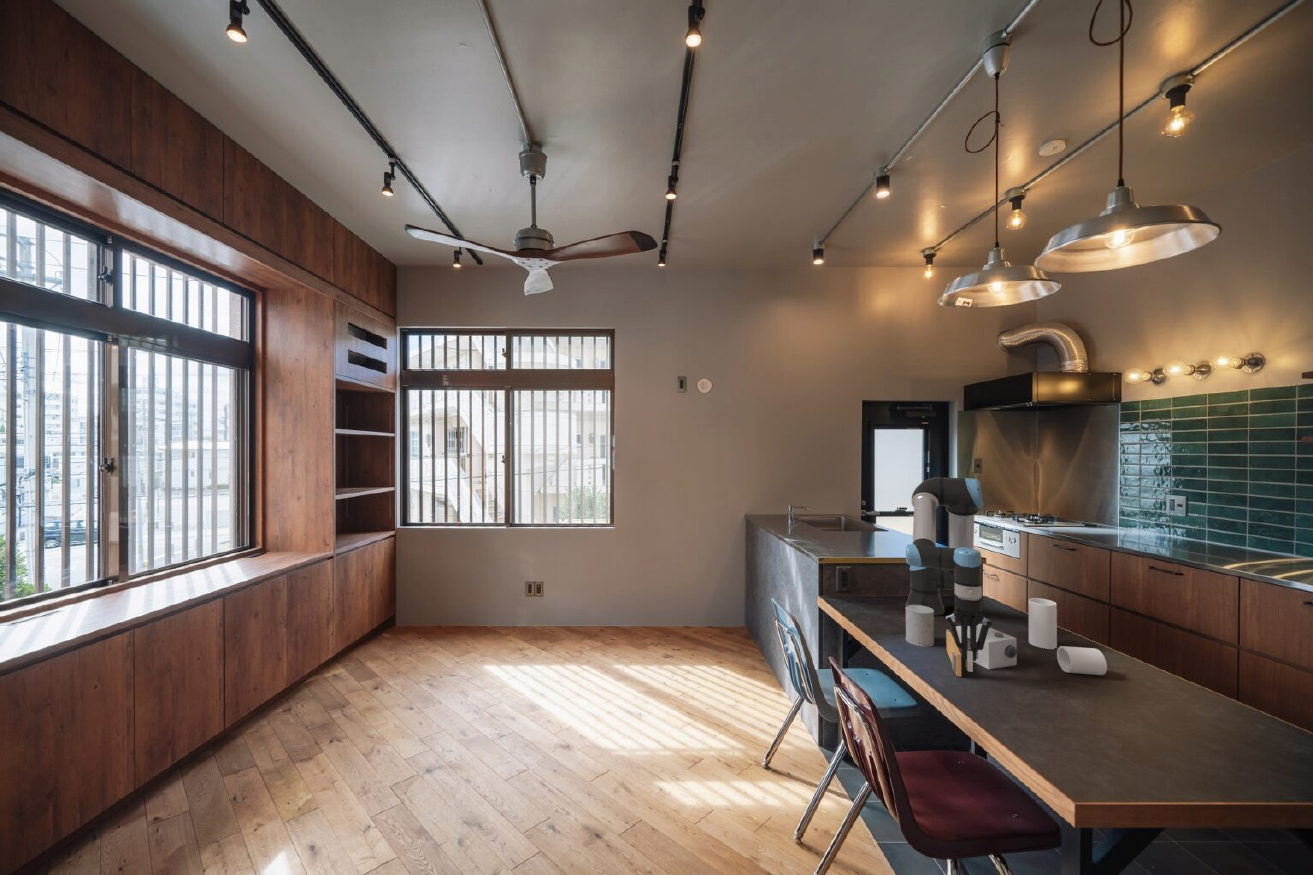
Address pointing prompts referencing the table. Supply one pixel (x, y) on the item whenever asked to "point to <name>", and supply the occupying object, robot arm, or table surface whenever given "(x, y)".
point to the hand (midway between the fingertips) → (969, 669)
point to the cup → (1043, 623)
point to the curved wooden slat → (953, 652)
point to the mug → (1081, 660)
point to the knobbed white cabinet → (993, 648)
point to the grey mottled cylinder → (920, 625)
